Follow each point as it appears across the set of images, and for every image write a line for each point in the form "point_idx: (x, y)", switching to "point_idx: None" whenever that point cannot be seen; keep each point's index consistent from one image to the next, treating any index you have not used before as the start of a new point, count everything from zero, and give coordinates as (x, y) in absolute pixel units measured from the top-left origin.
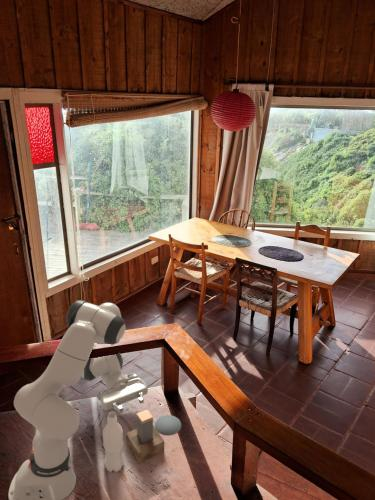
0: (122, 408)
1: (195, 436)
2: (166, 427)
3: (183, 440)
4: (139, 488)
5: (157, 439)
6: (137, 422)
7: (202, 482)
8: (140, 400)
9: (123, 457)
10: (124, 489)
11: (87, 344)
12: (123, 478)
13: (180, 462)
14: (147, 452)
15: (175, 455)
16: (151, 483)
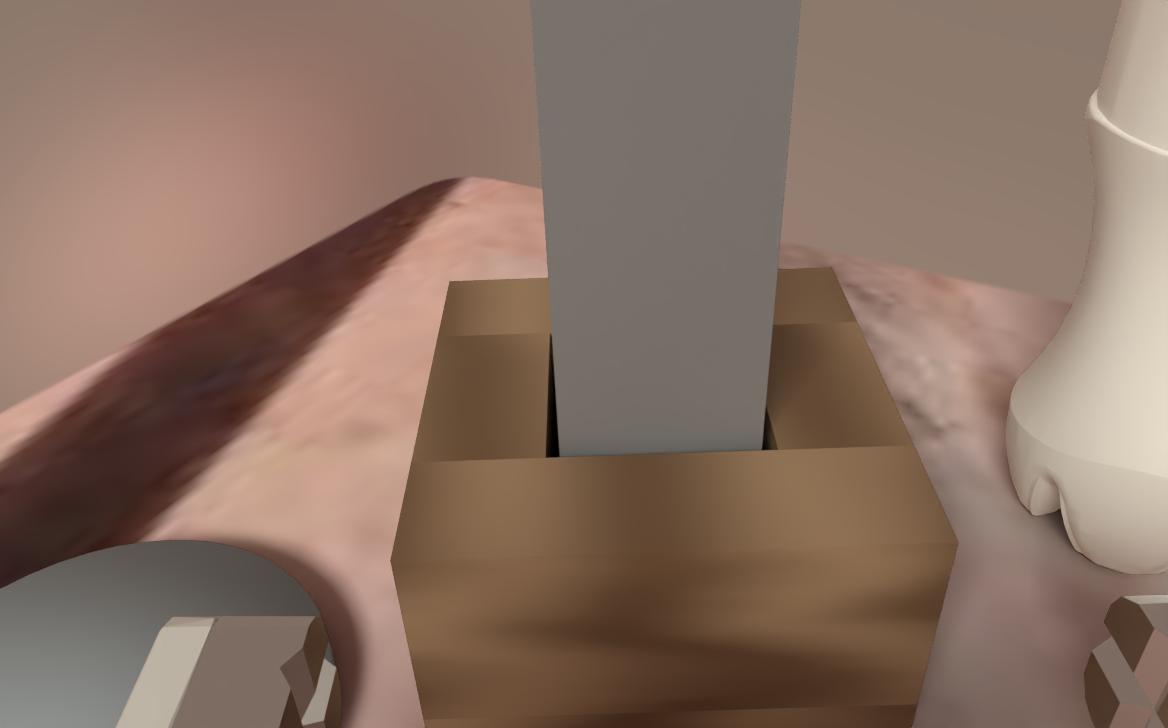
0: (1127, 596)
1: (5, 469)
2: None
3: (161, 479)
4: (865, 291)
5: (510, 315)
6: (784, 129)
7: (386, 207)
8: (310, 616)
9: (1016, 407)
10: (1007, 319)
11: None
12: (1009, 385)
13: (403, 331)
14: None
15: (388, 387)
16: None
